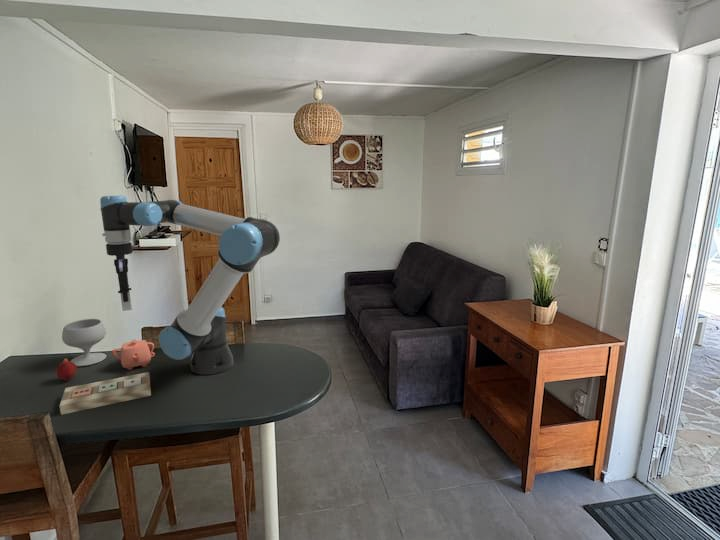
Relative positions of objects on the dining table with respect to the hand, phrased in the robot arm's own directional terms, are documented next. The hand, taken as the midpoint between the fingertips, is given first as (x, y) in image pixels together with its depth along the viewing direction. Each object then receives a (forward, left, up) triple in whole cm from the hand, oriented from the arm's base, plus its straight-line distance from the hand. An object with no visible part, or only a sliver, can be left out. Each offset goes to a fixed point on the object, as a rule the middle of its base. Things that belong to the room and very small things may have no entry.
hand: (127, 309), depth 142 cm
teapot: (+4, -7, -25) cm, 26 cm away
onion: (+21, +5, -25) cm, 33 cm away
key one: (-6, +12, -24) cm, 27 cm away
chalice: (+25, -11, -25) cm, 37 cm away
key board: (0, +15, -24) cm, 29 cm away
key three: (+6, +19, -24) cm, 31 cm away
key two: (0, +15, -24) cm, 28 cm away
